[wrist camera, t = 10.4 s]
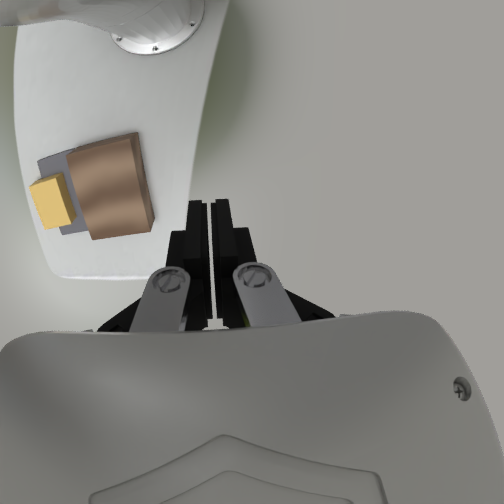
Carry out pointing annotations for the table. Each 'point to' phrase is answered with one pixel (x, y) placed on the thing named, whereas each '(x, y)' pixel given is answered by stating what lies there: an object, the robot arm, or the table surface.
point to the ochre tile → (53, 201)
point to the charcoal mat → (60, 165)
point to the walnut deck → (112, 187)
